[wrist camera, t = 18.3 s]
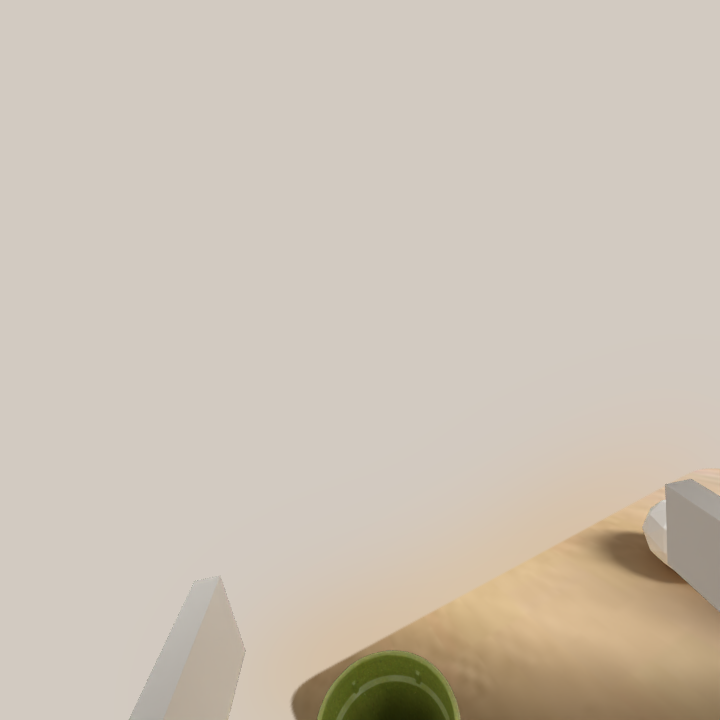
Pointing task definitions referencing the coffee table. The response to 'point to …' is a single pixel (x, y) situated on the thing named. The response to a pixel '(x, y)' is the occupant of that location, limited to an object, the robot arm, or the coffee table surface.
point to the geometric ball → (657, 531)
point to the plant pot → (390, 690)
